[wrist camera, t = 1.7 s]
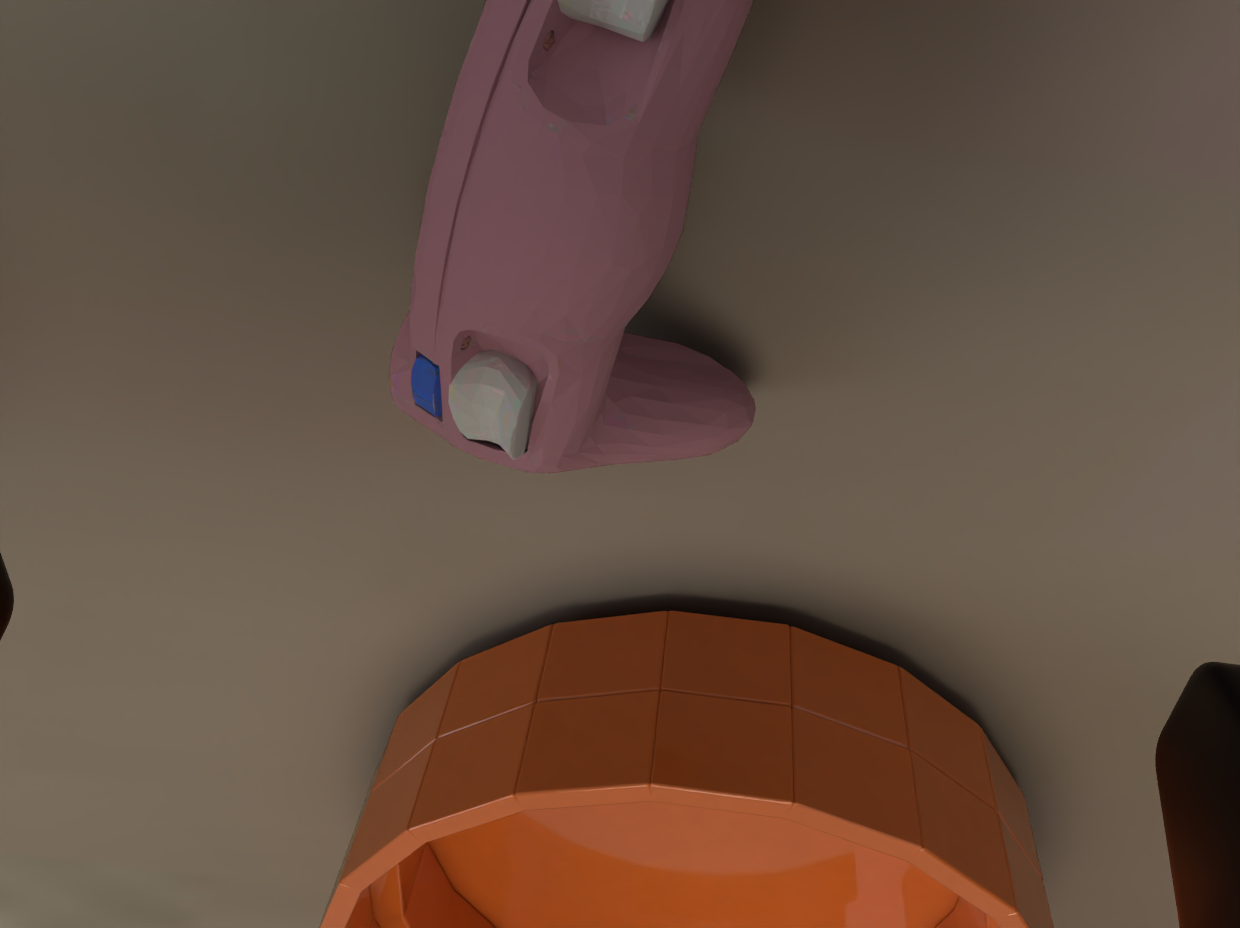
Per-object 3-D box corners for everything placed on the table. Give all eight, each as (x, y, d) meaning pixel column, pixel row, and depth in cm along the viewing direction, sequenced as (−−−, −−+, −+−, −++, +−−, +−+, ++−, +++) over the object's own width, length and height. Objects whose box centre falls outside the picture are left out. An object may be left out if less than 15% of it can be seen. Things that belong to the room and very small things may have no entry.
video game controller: (753, -255, 16) (434, -347, 10) (1041, -131, 14) (848, -164, 9) (562, 319, 21) (293, 450, 16) (757, 443, 20) (535, 631, 15)
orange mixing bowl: (400, 959, 33) (348, 1138, 29) (358, 554, 24) (274, 735, 20) (936, 1034, 32) (961, 1229, 28) (1114, 645, 23) (1189, 854, 19)
